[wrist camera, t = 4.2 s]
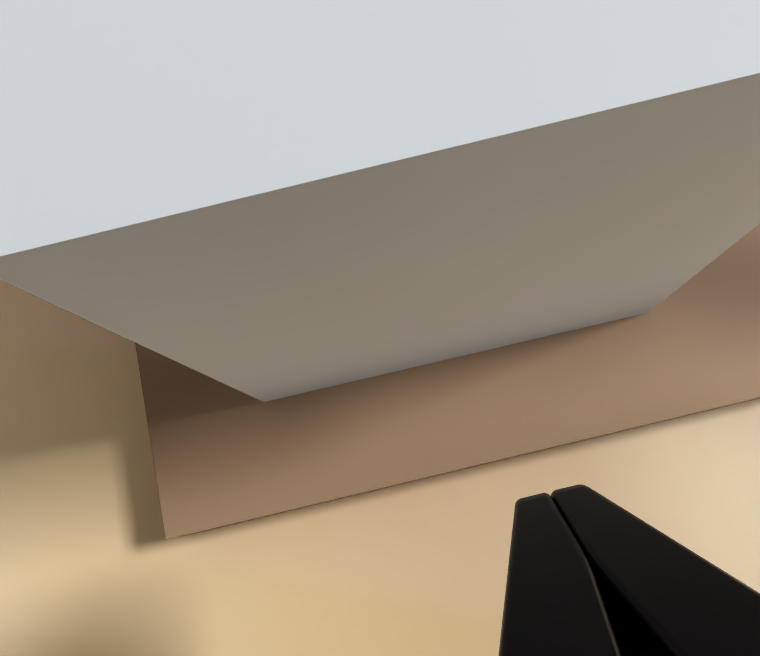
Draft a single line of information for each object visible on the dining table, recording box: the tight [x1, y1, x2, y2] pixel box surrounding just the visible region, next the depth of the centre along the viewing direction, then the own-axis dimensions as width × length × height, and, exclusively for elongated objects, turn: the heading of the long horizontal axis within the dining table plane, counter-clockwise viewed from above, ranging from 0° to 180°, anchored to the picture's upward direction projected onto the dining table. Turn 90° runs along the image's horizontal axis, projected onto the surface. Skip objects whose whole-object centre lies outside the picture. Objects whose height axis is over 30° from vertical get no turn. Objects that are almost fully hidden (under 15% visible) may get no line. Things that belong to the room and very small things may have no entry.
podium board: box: [135, 223, 760, 539], centre depth 18 cm, size 20×15×1 cm
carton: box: [0, 0, 760, 402], centre depth 12 cm, size 9×9×10 cm
